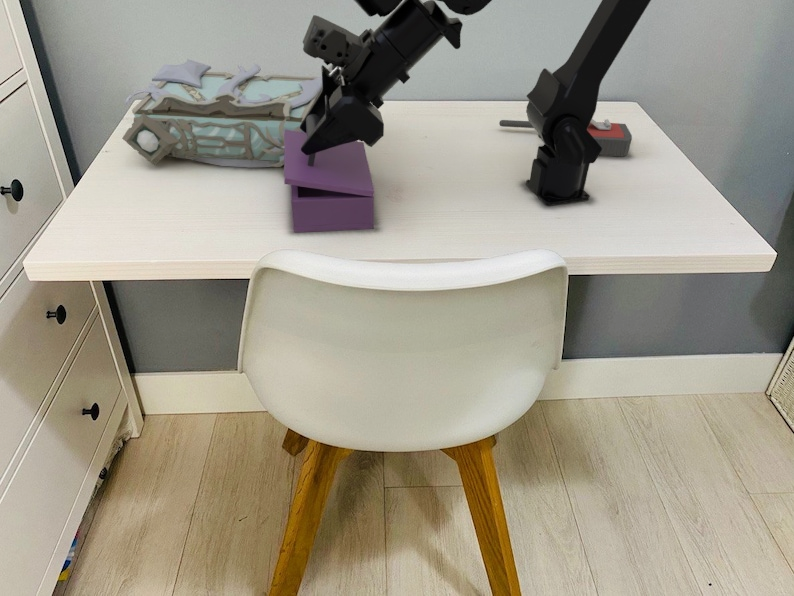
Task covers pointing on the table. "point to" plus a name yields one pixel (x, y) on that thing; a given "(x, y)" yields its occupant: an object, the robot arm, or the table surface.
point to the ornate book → (219, 115)
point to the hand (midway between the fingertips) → (303, 140)
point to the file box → (330, 210)
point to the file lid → (326, 164)
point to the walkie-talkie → (596, 135)
